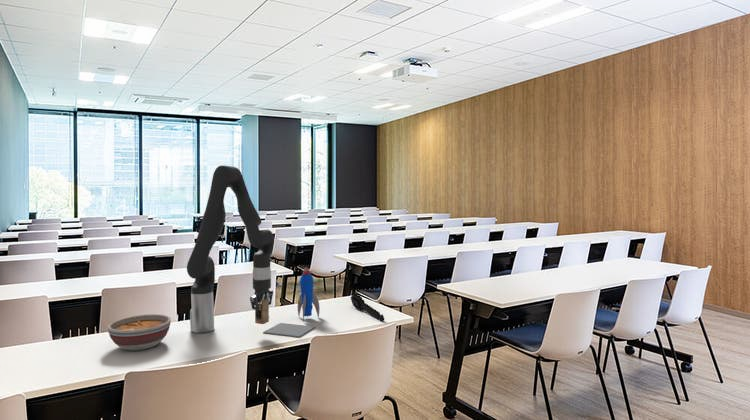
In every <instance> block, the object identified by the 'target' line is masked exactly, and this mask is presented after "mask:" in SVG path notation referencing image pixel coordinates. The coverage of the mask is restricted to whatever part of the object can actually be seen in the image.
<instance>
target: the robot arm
mask: <svg viewBox="0 0 750 420" xmlns="http://www.w3.org/2000/svg"><path fill="white" fill-rule="evenodd" d="M211 180H212V181H211V184H210V191H209V196H208V199H207V203H206V207H205V210H204V213H203V216H202V219H201V222H200V226H199V230H198V234H197V237H196V240H195V242H194V243H195V244H194V247H193V249H192V252H191V255H190V257H189V259H188V261H187V265H186V272H187V275H188V276H189V277H190V278H191V279H193V280H194V279H195V280H194V282H193V284H192V285H191V287H190V298H191V299H190V301H191V309H190V310H189V324H190V325H189V326H190V332H192V333H195V334H205V333H209V332H212V331H214V330H215V314H214V313H215V312H214V311H215V309H214V307H215V305H214V303H215V302H214V286H215V281H216V279H215V278H216V276H215V275H216V273H215V272H216V269H215V268H216V267H215V261H214V260H213V258H212V257H211V256H210V253H211V250H212V248H213V247H214V245H215V243H216V242H217V241H218V240H219V238H220V236H221V234H222V232H223V229H224V225H225V222H226V219H227V218H226V217H227V214H226V209H225V208H226V207H225V201H224V200H225V195H226V191H227V188H230V189H231V190H232V192H233V194H234V195H235V197H236V200H237V201H236V202H237V212H238V214H239V216H240V218H241V220H242V222H243V224H244V226H245V230H246V234H247V239H248V242H249V244H250V245H251V246H253V248H257V249H258V251H257V252H255V253H254V254H253V257H252V259H253V260H252V261H253V262H252V266H253V267H252V289H253V290H254V293H253V294H254V295H253V296H250V297H249V300H250V305H251V309H252V310H254V311H255V310H256V318H257V319H261V308H262V304H263V300H264V299H269V306H270V305H271V304H272V302H273V301H272V300H273V296H274V290H270V289H271V288H272V271H271V270H272V269H271V255H272V251H273V248H274V243H275V237H274V233H273V232H272V230H269V229H260V228H259V226H261V224H262V218H261V217H260V214H259V213H258V211H257V209H256V207H255V205H254V204H253V201H252V199H251V196H250V194H249V191H248V188H247V185H246V182H245V179H244V177H243V174H242V172H241V170H240V168H238V167H235V166H231V165H225V164H221V165H218V166H217V167H216V168H215V169H214V172H213V174H212V179H211ZM257 301H259V302H260V303H259V302H257ZM258 304H259V307H258Z"/></svg>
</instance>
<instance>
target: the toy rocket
mask: <svg viewBox="0 0 750 420" xmlns="http://www.w3.org/2000/svg"><path fill="white" fill-rule="evenodd" d="M299 286H300V295H299V297H298V300H297V315H298V317H300V315H301V310H302V318H303V322H305V317H310V316H312V315H313V313H312V310H313V307H314V308H315V311H316V316H317V318H319V317H320V302H319V298H318V297H317V295H316V294H315V293H314V277H313V275H312V274H311V271H310V270H309V268H308V267H307V266H306V267H305V268H304V270H303V271H302V274H301V276H300V279H299Z"/></svg>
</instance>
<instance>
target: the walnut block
mask: <svg viewBox="0 0 750 420" xmlns="http://www.w3.org/2000/svg"><path fill="white" fill-rule="evenodd" d="M257 302H259V301H257ZM259 303H260V302H259ZM269 306H270V305H269V299H264V300H263V304H262V308H261V319H257V318H256V310H254V311H255V312H254V317H255V318H254V320H255V321H254V323H255V324H258V325H259V324H260V325H265V324H267V323H269V319H270V316H269V314H270V311H269V310H270V307H269ZM258 307H259V304H258Z"/></svg>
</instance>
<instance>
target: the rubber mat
mask: <svg viewBox="0 0 750 420" xmlns="http://www.w3.org/2000/svg"><path fill="white" fill-rule="evenodd" d="M314 329H316V326H313V325H305V324H304V325H303V324H294V323H285V322H280V323H277V324H275V325H274V326H272V327H270V328H268V329H266V330H264V331H262V332H263V333H262V334H266V335H267V334H268V335H275V336H284V337H292V338H294V337H295V338H301V337H303V336H305V335H306V334H308V333H310V332H311V331H313V330H314Z"/></svg>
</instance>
